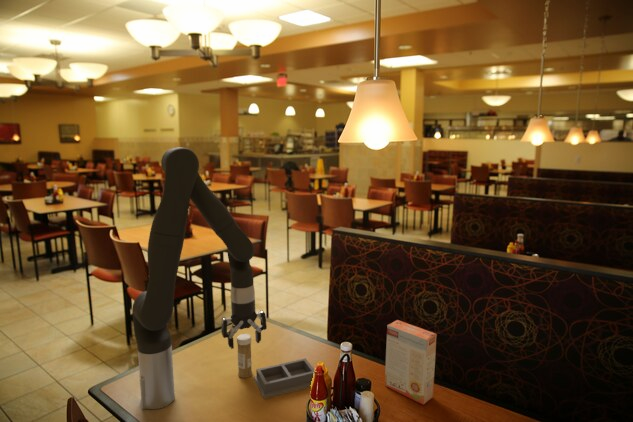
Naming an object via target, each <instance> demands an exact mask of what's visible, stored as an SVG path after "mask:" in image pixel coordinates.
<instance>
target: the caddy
mask: <svg viewBox="0 0 633 422" xmlns="http://www.w3.org/2000/svg"><path fill="white" fill-rule="evenodd" d="M314 370H315V369H314V367H313V366H312V365H311V363H310V362H309V361H308V359H307V358H301V359H296V360H291V361H288V362H287V361H286V362H283V363H278V364H275V365H270V366H265V367H261V368H256V372H255V373H256V374H255V376H253V379H254V382H255V384H256V386H257V387H258V390H259V391H260V394H261V395H262V397H263V399H264V400H265V399H268V398H269V399H270V398H274V397H279V396H282V395H284V394H288V393H293V392H297V391H301V390H304V389H309V388H311V387H310V385H311V381H312V378H313V372H314Z"/></svg>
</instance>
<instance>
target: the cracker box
mask: <svg viewBox="0 0 633 422" xmlns="http://www.w3.org/2000/svg"><path fill="white" fill-rule="evenodd" d="M386 327H387V329H386V347H385V348H386V349H385V372H384V373H385V374H384V386H385V387H387V388H389V389H390V390H393V391H394V392H396V393H398V394H400V395H403V396H405V397H407V398H408V399H410V400H411V401H412V400H413V401H415V402H417V403H418V404H421V405H423V406H424V405H425V404H426V403H428V402H429V401H430V400H431V399H433V397H434V387H435V385H434V384H435V366H436V352H437V351H436V349H437V336H438V335H437V333H435V332H433V331H429V330H427V329H424V328H421V327H418V326H416V325H413V324H409V323H407V322H405V321H402V320H399V319H396V320H394V321H393V322H391V323H389V324H387V325H386Z"/></svg>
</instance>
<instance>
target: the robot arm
mask: <svg viewBox="0 0 633 422" xmlns="http://www.w3.org/2000/svg"><path fill="white" fill-rule="evenodd" d="M160 163H161V169H162V171H163V172H164V185H163V192H162V196H161V200H160V203H159V205H158V207H157V209H156V212H155V213H154V218H153V220H152V222H151V227H150V231H149V235H148V236H149V237H148V242H147V265H148V282H147V289H146V290H145V291H143V292H140V294H138V295H137V297H135V299H134V301H133V304H132V321H133V323H132V324H133V332H134V337H135V341H136V345H137V346H136V347H137V348H136V349H137V357H138V358H137V359H138V372H139V387H140V397H141V398H140V400H141V410H158V409H162V408H165V407H167V406H168V405H170V404H171V403H172V402H173V401H174V399H175V395H176V394H175V392H176V391H175V378H174V362H173V361H174V360H173V346H172V344H173V343H172V335H171V332H170V329H169V327H168V324H169V323H170V321H171V319H172V315H173V312H174V304H175V303H174V302H175V300H174V299H175V291H176V290H175V289H176V280H177V277H178V271H179V265H180V261H181V256H182V252H183V251H182V250H183V247H184V242H185V241H184V240H185V238H186V228H187V224H188V216H189V209H190V201H191V202H192V203H193V204H194V206H195V207H196V209H197V210H198V211H199V213H200V214H201V216H202V217H203V219H204V220H205V221H206V223H207V224H208V226H209V227H210V228H211V230H212V231H213V232H214V234H215V235H216V236H217V237H218V238H220V240H221V241H222V242H223V244H224V245H225V246H226V250H227V252H226V253H227V258H228V265H229V268H230V303H231V304H230V307H231V315H230V317H225V316H223V317H221V335H222V338H223V339H226V338H227V345H228V347H229V348H230V349H231V350H232V349H234V347H235V346H234V336H235V334H236V333H237V332H238V331H239V330H243V329H250V328H253V329H254V331H255V333H254V334H255V342H256V343H257V344H259V343H260V342H261V341H262V331H263V330H264V331H265V330H267V327H268V326H267V320H266V319H267V318H266V313H265V312H264V310H263V309H262V310H261V309H260V311H258V312H256V294H255V293H256V292H255V286H254V271H253V270H254V269H253V267H252V266H251V262H250V260H251V259H252V258H253V257H254V256H255V255H254V254H255V251H256V250H255V246H254V244H253V242H252V240H251V239H250V238H249V237H248V236H247V234H246V233H245V232H244V231H243V230H242V229H241V228H240V227H239V225H238V223H237V221H236V220H235V218H234V217H233V216H232V214H231V212H230V211H229V209H227V207H226V205H225V204H224V203H223V202H222V201H221V200H220V199H219V198H218V197H217V195H215V193H214V192H213V191H212V190H211V189H210V188H209V187H208V185H207V184H206V183H205V181H204V180H203V179H202V177H201V175H200V173H199V169H200V161H199V158H198V156H197V155H196V153H195V152H194V151H193V150H191V149H190V148H187V147H181V146H180V147H178V146H177V147H173V148H172V147H170V148H169V149H167V150H166V151H165V152H164V153H163V154H162V156H161V159H160ZM257 318H259V320H260V325H258V324H257V323H256V319H257ZM230 323H232V324H231V326H230V328H229V330H228V326H229V324H230Z"/></svg>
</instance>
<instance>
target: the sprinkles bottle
mask: <svg viewBox="0 0 633 422" xmlns="http://www.w3.org/2000/svg"><path fill="white" fill-rule="evenodd" d="M236 344H237V366H238V367H237V368H238V374H237V375H238V376H239V377H240V378H244V379H245V378H250V376H252V374H253V371H252V363H253V362H252V346H251V345H252V336H251V334H249V333H241V334H239V335H238V336H237V337H236Z"/></svg>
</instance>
